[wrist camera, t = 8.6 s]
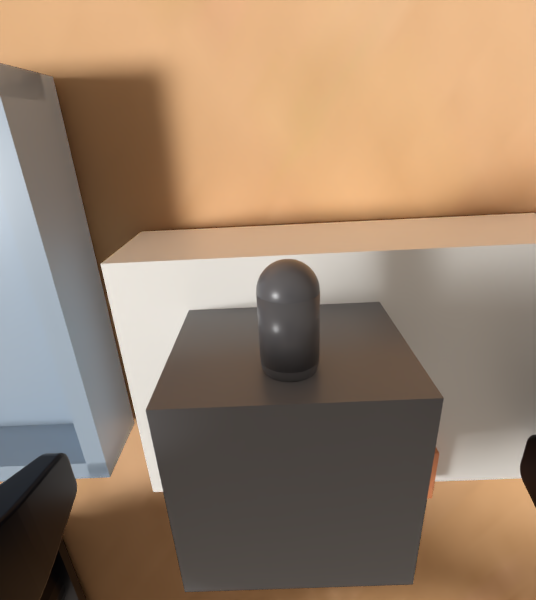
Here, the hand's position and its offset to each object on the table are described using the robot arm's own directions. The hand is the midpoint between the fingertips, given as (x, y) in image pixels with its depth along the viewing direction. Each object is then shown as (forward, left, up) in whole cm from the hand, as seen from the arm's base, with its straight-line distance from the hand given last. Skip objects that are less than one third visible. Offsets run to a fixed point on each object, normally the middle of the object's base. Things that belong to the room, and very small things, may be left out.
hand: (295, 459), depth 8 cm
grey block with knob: (0, 0, -5) cm, 5 cm away
